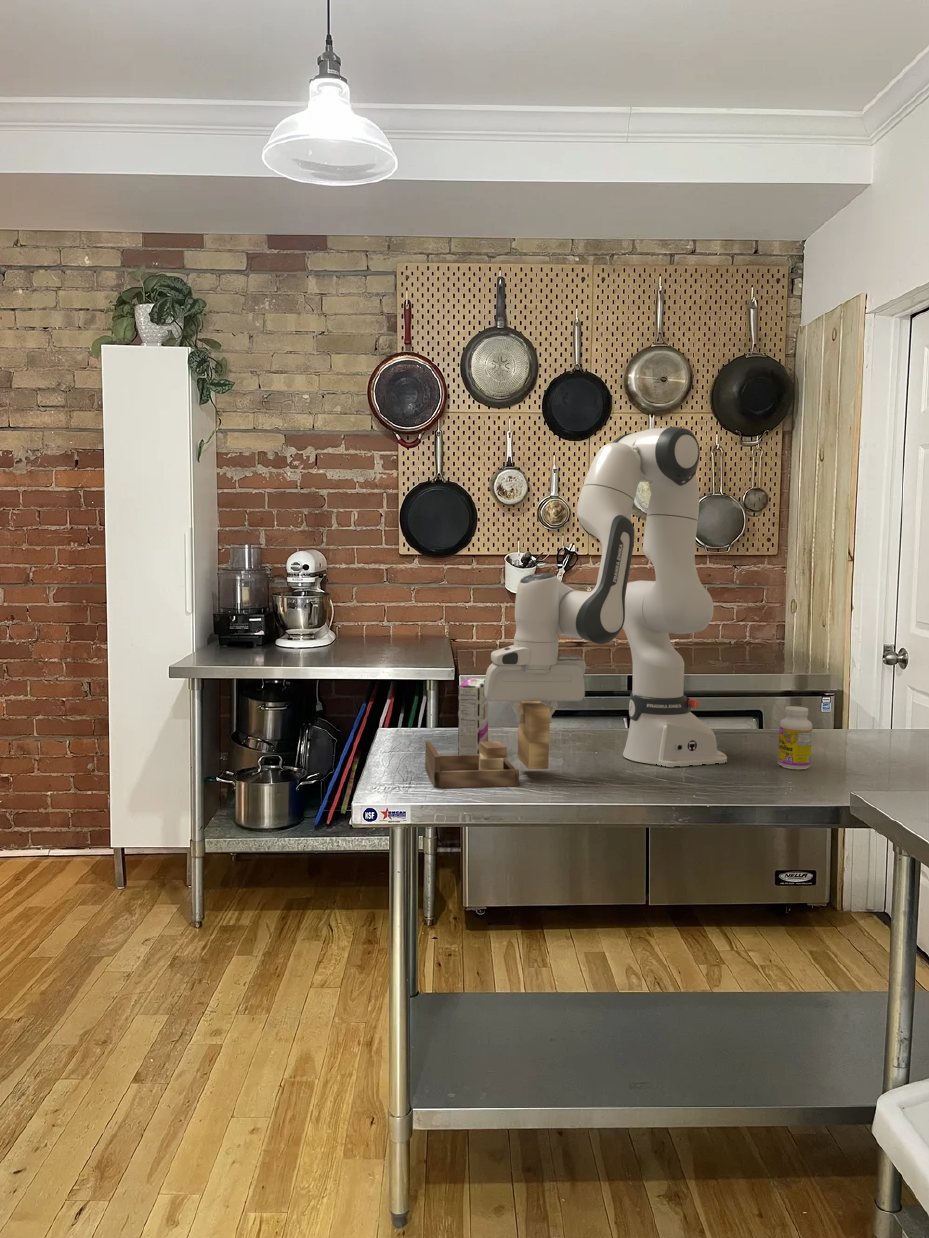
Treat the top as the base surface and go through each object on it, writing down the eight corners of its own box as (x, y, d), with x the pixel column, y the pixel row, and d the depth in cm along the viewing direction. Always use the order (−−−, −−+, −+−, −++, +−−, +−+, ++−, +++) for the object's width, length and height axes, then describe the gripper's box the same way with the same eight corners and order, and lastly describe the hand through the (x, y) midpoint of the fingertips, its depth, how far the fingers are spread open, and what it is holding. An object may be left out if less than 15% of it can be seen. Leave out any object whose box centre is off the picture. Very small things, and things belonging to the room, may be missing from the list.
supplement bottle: (771, 764, 206) (774, 705, 205) (798, 762, 208) (801, 704, 207) (789, 771, 200) (792, 711, 199) (816, 770, 201) (819, 710, 200)
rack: (503, 767, 198) (504, 739, 198) (518, 785, 184) (519, 755, 184) (425, 769, 196) (425, 740, 195) (434, 787, 182) (434, 756, 181)
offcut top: (497, 750, 194) (497, 741, 194) (506, 757, 189) (506, 747, 188) (478, 751, 193) (478, 741, 193) (487, 758, 188) (487, 748, 187)
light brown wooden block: (536, 757, 197) (538, 700, 196) (548, 768, 187) (550, 708, 186) (517, 757, 196) (519, 700, 195) (528, 769, 186) (530, 708, 185)
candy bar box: (466, 749, 216) (467, 677, 214) (488, 750, 215) (489, 678, 213) (456, 760, 205) (457, 684, 203) (479, 761, 204) (480, 685, 202)
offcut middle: (501, 762, 195) (501, 750, 195) (503, 771, 187) (503, 759, 187) (479, 762, 195) (479, 750, 195) (480, 771, 187) (480, 759, 187)
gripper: (581, 653, 195) (579, 719, 196) (483, 652, 191) (481, 720, 193) (590, 656, 189) (588, 725, 190) (489, 656, 185) (487, 726, 186)
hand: (533, 723), depth 191 cm, fingers closed on light brown wooden block, 4 cm apart
